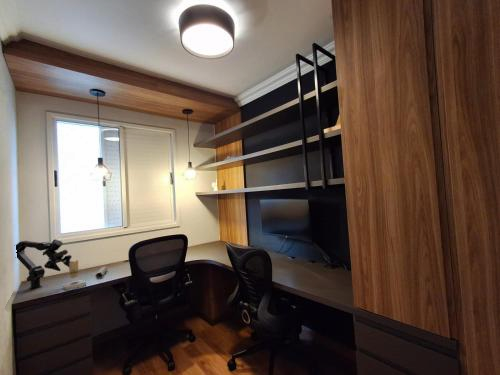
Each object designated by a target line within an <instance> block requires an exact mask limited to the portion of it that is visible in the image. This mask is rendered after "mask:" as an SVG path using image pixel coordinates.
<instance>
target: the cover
mask: <svg viewBox="0 0 500 375" xmlns="http://www.w3.org/2000/svg"><path fill="white" fill-rule="evenodd" d="M79 274H80V271H79V259H75V260H74V259H73V260H70V261H69V267H68V273H67V275H68V276H70V278H71V279H74V278H77V277H78V275H79Z"/></svg>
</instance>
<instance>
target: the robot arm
mask: <svg viewBox="0 0 500 375" xmlns="http://www.w3.org/2000/svg"><path fill="white" fill-rule="evenodd" d="M63 244H64V243H63V241H61V240H58V239H53V240H52V242H50V241H42V242H37V241H29V240H22V241H21V240H20V241H19V242H18V243H17V244H15V245H16V250H17V252H16V253H17V258H16V259H18V260H19V262H20V263H21V264H22V265H23V266H24V267H25V268H26V269H27V271H28V276H27V277H26V281H27V282H30V286H29V287H28V288H29V289H30V290H34V289H38V288H41V287H43V285H41V279H42V278H44V277H45V274H46V269H49V270H54V271H58V272H60V271H61V268H60V267H59V265H58V263H62V264H64V265H65V266H66V267H68V268H69V261H71V260H72V255H71V254H69V252H68V250H67V249H63V250H61V251H59V252H57V251H58V250H59V249H60V248H61V247H62V245H63ZM27 248H33V249H36V251H37V250H38V251H43V252H42V256H47V257H48V260H47V261H46V263H45V264H44V265H43V266H42V265H36V264H35V263H34V262H33V261H32V259H30V258H29V257H28V256H27V255H26V250H25V249H27Z"/></svg>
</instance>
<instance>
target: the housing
mask: <svg viewBox="0 0 500 375" xmlns="http://www.w3.org/2000/svg"><path fill="white" fill-rule="evenodd" d="M85 285H86V286H87V282H86V281H84V280H83V279H78V280H73V281H70V282H66V283H62V284H61V288H62V289H63V290H65V289H66V290H65V291H67V290H68V291H71V290H70V289H72V290H74V289H73V288H75V289H77V287H79V288H82V287H85ZM81 286H82V287H81Z"/></svg>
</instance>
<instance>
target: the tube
mask: <svg viewBox="0 0 500 375" xmlns="http://www.w3.org/2000/svg"><path fill="white" fill-rule="evenodd" d="M107 271H108V268H107V266H105V265H104V266H102V267H101V268H100V269H99V270H98V272H97V273H96V274H95V276H94V277H95V278H96V279H99V280H100V279H102V278H103V276H104V275H105V273H106V272H107Z"/></svg>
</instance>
